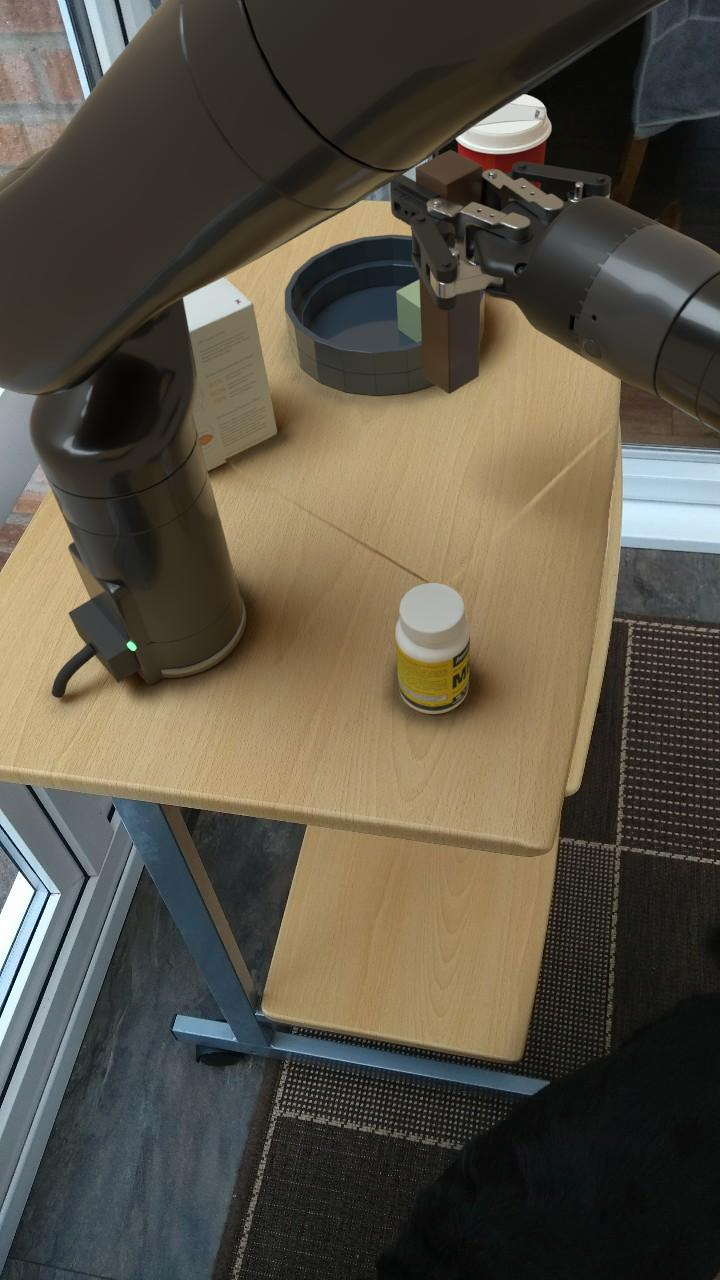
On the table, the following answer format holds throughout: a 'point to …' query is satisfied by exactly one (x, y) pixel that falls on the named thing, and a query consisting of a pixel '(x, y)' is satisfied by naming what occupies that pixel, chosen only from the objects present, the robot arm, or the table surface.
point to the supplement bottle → (432, 648)
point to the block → (409, 311)
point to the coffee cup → (508, 136)
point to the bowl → (357, 317)
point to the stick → (457, 330)
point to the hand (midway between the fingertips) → (416, 182)
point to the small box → (228, 373)
